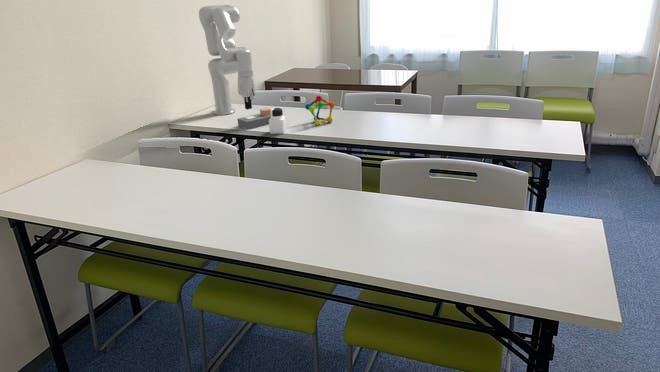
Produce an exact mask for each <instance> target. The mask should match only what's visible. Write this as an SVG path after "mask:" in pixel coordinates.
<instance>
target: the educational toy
mask: <svg viewBox="0 0 660 372" xmlns="http://www.w3.org/2000/svg"><path fill="white" fill-rule="evenodd" d="M323 106H326V107H328V106H329V108H330V110H329V116H328V117H320V116H319V115H320V111H321V108H323ZM335 106H336V105H335V102H334V101H330V102H329V101H327V100H325V99H323V98H322V96H321V95H319V94H318V95H316V97H315V100H314V101H312V102H311V103H307V104H305V109H306V110H308V111H309V112H310V113H311V115H312V117H313V121H314V125H315V126H320V124H321V123H324V122H325V123H326V122H327V123H333V119H334V118H333V117H332V113H333V108H335ZM316 107H318V109H317V112H316V114H315V108H316Z"/></svg>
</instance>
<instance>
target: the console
mask: <svg viewBox="0 0 660 372" xmlns="http://www.w3.org/2000/svg"><path fill="white" fill-rule="evenodd" d="M249 116H254V117H256V119H252V120H247V119H245V117H249ZM270 118H271V115H269V116H262V115H260V113H256V114H253V115H252V114H251V115H247V116H244V117H238V118H237V120H236V121H237V126H238V127H240V128H243V129H246V130H251V129H254V128H260V127H263V126H267V125H269V119H270Z"/></svg>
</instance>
